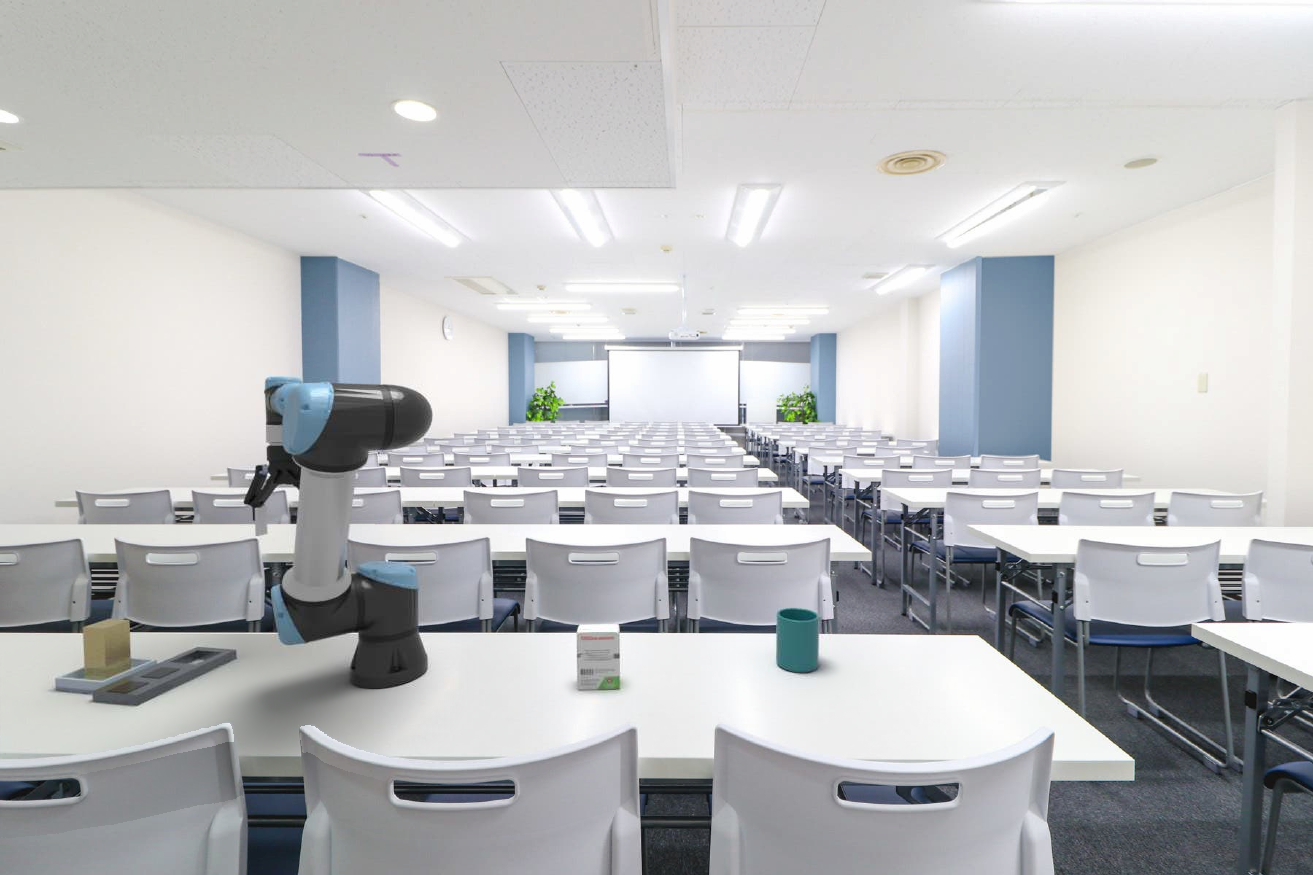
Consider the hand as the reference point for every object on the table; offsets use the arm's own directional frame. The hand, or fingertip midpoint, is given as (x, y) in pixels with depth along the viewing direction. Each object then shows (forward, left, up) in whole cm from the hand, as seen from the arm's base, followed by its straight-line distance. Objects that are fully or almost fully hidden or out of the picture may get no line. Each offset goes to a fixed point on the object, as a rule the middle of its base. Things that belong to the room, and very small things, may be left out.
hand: (288, 535), depth 141 cm
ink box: (-76, +7, -27) cm, 81 cm away
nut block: (+24, +22, -26) cm, 41 cm away
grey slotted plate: (+12, +19, -26) cm, 35 cm away
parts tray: (+24, +22, -26) cm, 41 cm away
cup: (-116, -11, -27) cm, 119 cm away
